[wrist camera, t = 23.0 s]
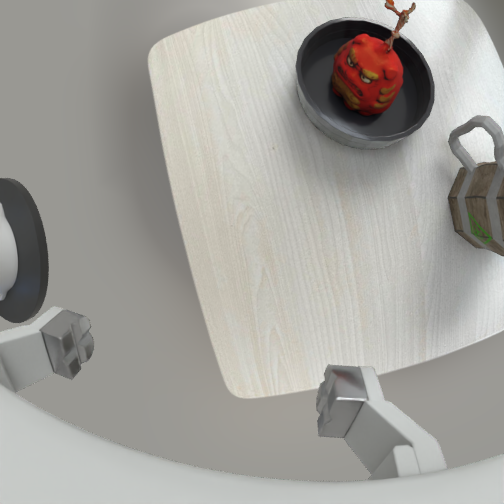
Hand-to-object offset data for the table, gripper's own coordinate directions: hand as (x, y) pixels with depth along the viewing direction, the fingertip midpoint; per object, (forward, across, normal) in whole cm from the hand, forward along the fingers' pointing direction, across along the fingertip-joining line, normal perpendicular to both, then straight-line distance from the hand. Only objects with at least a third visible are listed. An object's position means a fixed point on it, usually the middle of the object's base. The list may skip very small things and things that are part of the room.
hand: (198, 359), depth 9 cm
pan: (+27, -9, -15) cm, 33 cm away
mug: (+25, -25, -7) cm, 36 cm away
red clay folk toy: (+27, -9, -15) cm, 32 cm away
